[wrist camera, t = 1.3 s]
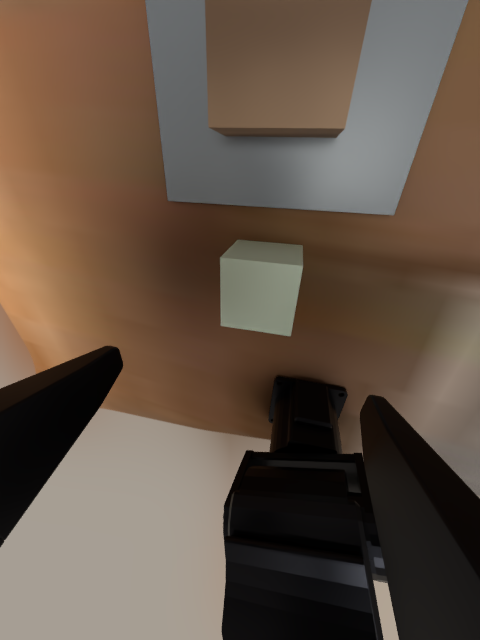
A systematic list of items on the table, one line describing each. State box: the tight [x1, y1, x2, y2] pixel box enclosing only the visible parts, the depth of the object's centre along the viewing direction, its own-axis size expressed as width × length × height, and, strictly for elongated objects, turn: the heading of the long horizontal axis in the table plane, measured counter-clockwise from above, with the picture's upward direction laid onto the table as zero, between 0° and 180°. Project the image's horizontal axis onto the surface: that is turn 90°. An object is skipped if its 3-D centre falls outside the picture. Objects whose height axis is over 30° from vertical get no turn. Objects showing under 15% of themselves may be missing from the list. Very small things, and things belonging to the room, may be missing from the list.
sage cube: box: [220, 240, 303, 336], centre depth 16 cm, size 4×4×4 cm
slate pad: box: [145, 0, 468, 215], centre depth 12 cm, size 13×14×1 cm
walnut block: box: [205, 0, 372, 138], centre depth 10 cm, size 6×6×3 cm
